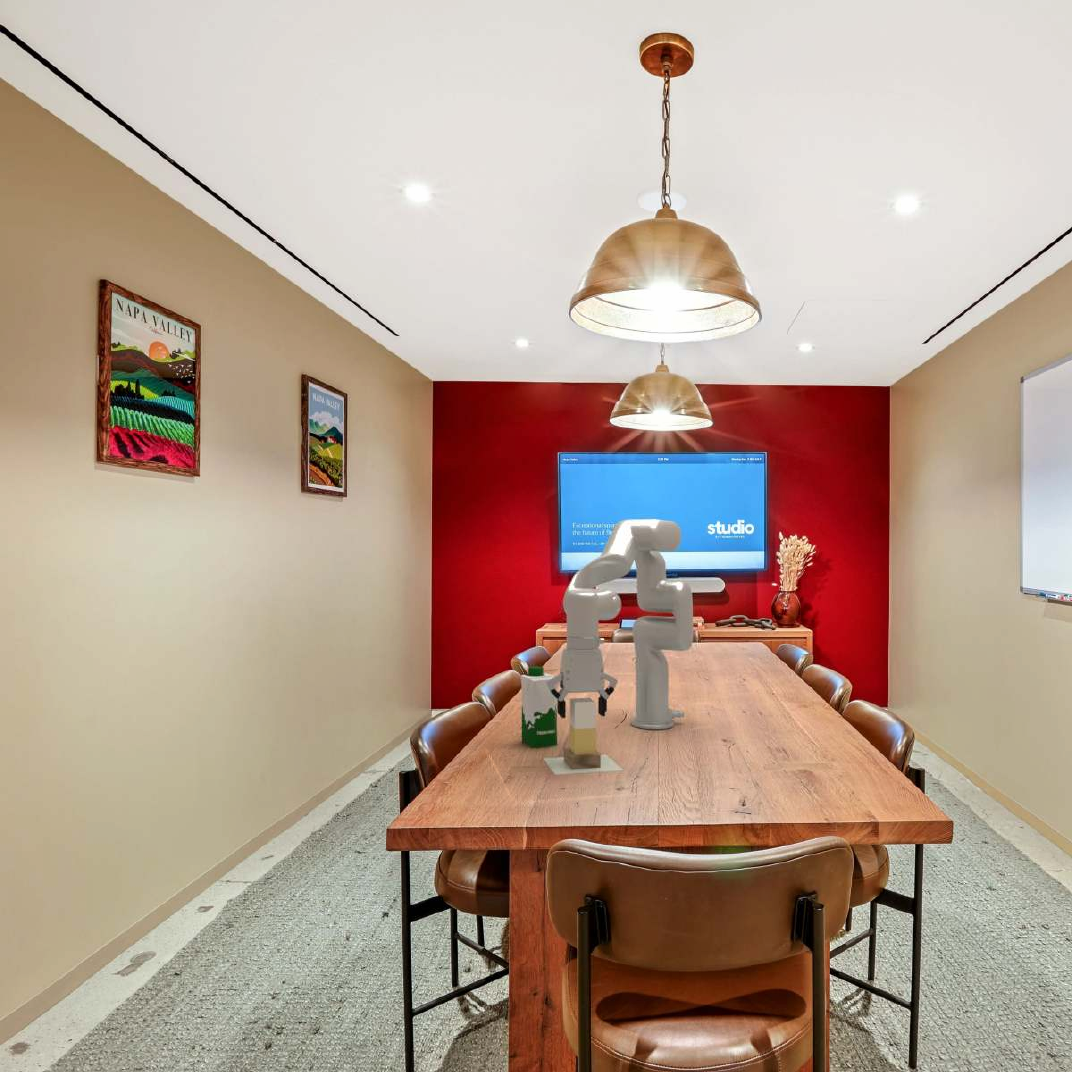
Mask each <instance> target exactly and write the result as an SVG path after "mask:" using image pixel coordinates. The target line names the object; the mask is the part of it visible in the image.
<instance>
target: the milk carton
mask: <svg viewBox="0 0 1072 1072" xmlns="http://www.w3.org/2000/svg"><path fill="white" fill-rule="evenodd" d="M527 670H528V671H527V673H528V674H521V675H520V684H521V686H520V687H521V744H524V745H527V746H528V747H531V748H532V749H539V748H545V747H552V746H554V747H555V746H558V726H557V724H558V721H557V720H558V712H557V698H556V697H555V696H554V695H553V694H552V693H551V692H550V690H549V688H548V686H547V684H546V682H547V681H548V680H550V679H552V678H554V677H555V676H556V675H553V674H550V673H545V671H544V666H541V665H540V666H539V665H532V666H528V668H527ZM559 684H560V683H559V682H558V683H556V684H555V685H554V687H555V689H556V691H557V692H558V688H559Z"/></svg>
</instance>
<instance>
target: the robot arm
mask: <svg viewBox="0 0 1072 1072" xmlns="http://www.w3.org/2000/svg"><path fill="white" fill-rule="evenodd" d="M681 543H682V530H681V528H680V526H679V524H678V523H677V522H675V521H672V520H665V519H664V520H663V519H655V518H644V519H643V518H641V519H640V518H639V519H637V518H635V519H623V520H621V521H618V522H617V523H616V524H615V525H614V527H613V529H612V532H611V534H610V535H609V538H608V539H607V541H606V543H605V546H604V548H603V550H602V552H601V554H600V556H597V558H595V559H593V560H592V561H590V562H589V563H587V564H585V566H583V567H582V568H580V569H579V570H578V571H577V572H576V573H575V574H574V575H573V577H572V578H571V579H570V580H571V581H569V584H568V587H567V588H566V590H565V592H564V597H563V600H562V606H563V610H564V612H565V614H566V648H563V649H562V652H561V661H560V667H559V668H560V669H559V674H557V675H554V676H555V677H554V678H552V679H550V680H548V681H547V682H546V684H547V686H548V688H549V690H550V692H551V693H552V694H553V695H554V696H555V697H556V698H557V715H559V717H560V718H561V719H566V716H567V715H566V712H567V709H566V708H567V705H566V704H567V703H566V700H565V698H566V697H567V696H568V695H569V694H570V693H571V694H575V693H576V694H577V693H578V694H581V693H598V695H599V696H598V699H597V700H598V701H597V707H598V708H597V712H598V714H599V715H600V716H601V717H606V713H607V711H608V709H607V708H608V706H607V705H608V699H609V698H610V696H611V695H612V693H614V691H615V688H616V687H617V684H618V683H619V681H618V679H617V678H615V677H613V676H612V675H609V674H607V673H605V667H604V666H605V665H604V659H603V655H602V653H603V652H602V650H601V648H600V645H604V644H605V638H603V637H602V638H601V637H600V636H599V621H609V620H613V619H615V618H616V617H617V616H618V615H619V613H620V611H621V608H622V601H621V598H620V595H619V594H618V593H617V592H616V591H614V590H611V589H601V588H595V587H597V586H599V585H601V584H602V585H603V584H606V583H609V582H612V581H614V580H615V581H616V580H618V579H621V578H623V577H625V576H626V575H628V574H629V572H630V570H631V569H632V566H633V564H634V562H635V569H636V570H635V571H636V599H637V600H636V601H637V605H638V607H639V609H641V610H642V611H645V612H652V613H665V614H666V613H668V614H672V615H673V617H670V616H669V617H668V616H660V615H659V616H657V615H656V616H655V615H643V616H641V617H638V618H636V620H635V621H634V622H633V624H632V637H633V643H634V644H633V645H634V650H635V716H633V717H631V718H630V719H629V720H630V725H631V726H633V727H636V728H640V729H645V730H666V729H670V728H673V727H674V726H675V721H674V719H675V718H678V719H679V718H684V717H685V711H684V710H677V709H671V708H670V706H669V705H670V704H669V703H670V702H669V701H670V700H669V696H670V695H669V694H670V693H669V689H670V688H669V687H670V686H669V683H670V682H669V681H670V680H669V677H670V676H669V675H670V674H669V671H670V669H669V668H670V667H669V662H668V660H667V657H666V656H665V654H664V652H663V651H672V652H673V651H674V652H685V651H686V652H687V651H689V650H690V648H692V645H693V642H694V606H693V605H694V602H693V601H694V600H693V599H694V598H693V592H692V589H691V586H690V585H689V584H688V582H686V581H684V580H680V579H668V578H667V571H666V569H667V568H666V565H667V564H666V561H665V559H664V557H663V555H662V554H661V552H666V553H667V552H669V553H670V552H674V551H676V550H677V549H678V548H679V547H680V545H681ZM605 680H606V681H608V682H609V684H608V686H607V687H606V688H605ZM558 682H559V683H558ZM556 683H558V684H559V688H560V689H559V691H558V690H557V691H556V689H555V687H554V685H555V684H556Z"/></svg>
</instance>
